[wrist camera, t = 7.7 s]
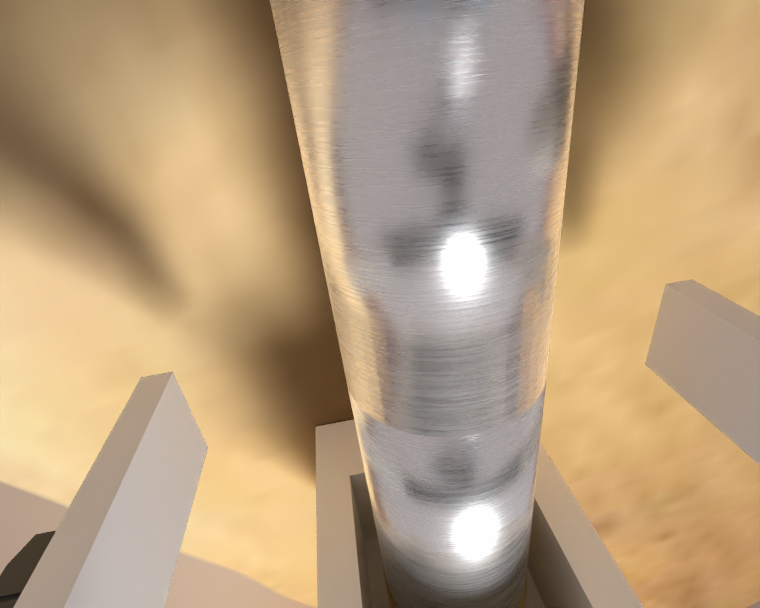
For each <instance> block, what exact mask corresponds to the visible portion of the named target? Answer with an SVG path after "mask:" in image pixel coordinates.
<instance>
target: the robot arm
mask: <svg viewBox="0 0 760 608" xmlns="http://www.w3.org/2000/svg"><path fill="white" fill-rule="evenodd" d="M645 365H646V366H648V367H649V368H650V369H651V370H652V371H653V372H654V373H656V374H657V375H658V376H659V377H660V378H661V379H662V380H663V381H665V382H666V383H667V384H668V385H669V386H670V387H671V388H673V389H674V390H675V391H676V392H677V393H678V394H679V395H681V396H682V397H683V398H684V399H685V400H686V401H687V402H688V403H690V404H691V405H692V406H693V407H694V408H695V409H696V410H698V411H699V412H700V413H701V414H702V415H703V416H704V417H706V418H707V419H708V420H709V421H710V422H711V423H712V424H713V425H715V426H716V427H717V428H718V429H719V430H720V431H721V432H723V433H724V434H725V435H726V436H727V437H728V438H729V439H731V440H732V441H733V442H734V443H735V444H736V445H737V446H738V447H740V448H741V449H742V450H743V451H744V452H745V453H746V454H748V455H749V456H750V457H751V458H752V459H753V460H754V461H756V462H757V463H758V464H759V465H760V316H758V315H756V314H754V313H752V312H751V311H749V310H747V309H745V308H743V307H742V306H740V305H738V304H736V303H734V302H732V301H731V300H729V299H727V298H725V297H723V296H721V295H720V294H718V293H716V292H714V291H712V290H710V289H709V288H707V287H705V286H703V285H701V284H700V283H698V282H696V281H694V280H686V281H681V282H675V283H670V284H666V285H665V289H664V293H663V297H662V301H661V305H660V309H659V312H658V316H657V320H656V324H655V328H654V332H653V336H652V340H651V344H650V348H649V352H648V355H647V359H646V363H645ZM207 450H208V447H207V444H206V442H205V440H204V438H203V436H202V434H201V432H200V429H199V427H198V425H197V423H196V421H195V419H194V417H193V414H192V412H191V410H190V408H189V406H188V404H187V401H186V399H185V397H184V395H183V393H182V391H181V389H180V386H179V384H178V382H177V380H176V378H175V376H174V373H173V372H168V373H163V374H157V375H151V376H146V377H141V379H140V381H139V382H138V384H137V386H136V388H135V390H134V391H133V393H132V395H131V397H130V399H129V400H128V402H127V404H126V406H125V408H124V409H123V411H122V413H121V415H120V417H119V418H118V420H117V422H116V424H115V426H114V427H113V429H112V431H111V433H110V435H109V436H108V438H107V440H106V442H105V444H104V445H103V447H102V449H101V451H100V453H99V454H98V456H97V458H96V460H95V462H94V463H93V465H92V467H91V469H90V471H89V472H88V474H87V476H86V478H85V480H84V481H83V483H82V485H81V487H80V489H79V490H78V492H77V494H76V496H75V498H74V499H73V501H72V503H71V505H70V507H69V508H68V510H67V512H66V514H65V516H64V518H63V519H62V521H61V523H60V525H59V527H58V528H57V530H56V531H52V532H46V533H42V534H36V535H35V536H34V537H33V538H32V539H31V540H30V541H29V542H28V543H27V545H26V546H25V547H24V548H23V549H22V550H21V551H20V552H19V553H18V554H17V555H16V556H15V557H14V558H13V559H12V560H11V562H10V563H9V564H8V565H7V566H6V567H5V569H4V571H3V572H2V574H1V576H0V608H164V606H165V602H166V599H167V595H168V591H169V588H170V584H171V580H172V577H173V573H174V569H175V566H176V562H177V558H178V555H179V551H180V548H181V544H182V541H183V537H184V533H185V530H186V526H187V522H188V519H189V515H190V511H191V508H192V504H193V500H194V497H195V493H196V490H197V486H198V482H199V479H200V475H201V471H202V468H203V464H204V460H205V457H206V453H207Z"/></svg>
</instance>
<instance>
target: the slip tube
mask: <svg viewBox="0 0 760 608" xmlns="http://www.w3.org/2000/svg"><path fill="white" fill-rule="evenodd" d="M584 2H585V0H270V3H271V8H272V13H273V18H274V23H275V28H276V33H277V38H278V43H279V48H280V53H281V58H282V63H283V68H284V73H285V78H286V83H287V88H288V93H289V98H290V103H291V107H292V112H293V117H294V122H295V127H296V132H297V137H298V142H299V147H300V152H301V157H302V162H303V167H304V172H305V177H306V182H307V187H308V192H309V197H310V202H311V207H312V212H313V217H314V222H315V227H316V232H317V237H318V242H319V247H320V252H321V257H322V262H323V267H324V272H325V277H326V282H327V287H328V292H329V297H330V302H331V307H332V312H333V317H334V322H335V327H336V331H337V336H338V341H339V346H340V351H341V356H342V361H343V366H344V371H345V376H346V381H347V386H348V391H349V396H350V401H351V406H352V411H353V416H354V421H355V426H356V431H357V436H358V441H359V446H360V451H361V456H362V461H363V466H364V471H365V476H366V481H367V486H368V491H369V496H370V501H371V506H372V511H373V516H374V521H375V526H376V531H377V536H378V541H379V546H380V550H381V555H382V560H383V570H384V578H385V583H386V588H387V593H388V598H389V603H390V608H525V601H526V591H527V564H528V554H529V544H530V534H531V524H532V515H533V505H534V495H535V485H536V475H537V465H538V455H539V446H540V436H541V426H542V416H543V406H544V396H545V387H546V377H547V367H548V357H549V347H550V337H551V327H552V318H553V308H554V298H555V288H556V278H557V268H558V258H559V249H560V239H561V229H562V219H563V209H564V199H565V189H566V180H567V170H568V160H569V150H570V140H571V130H572V120H573V111H574V101H575V91H576V81H577V71H578V61H579V51H580V42H581V32H582V22H583V12H584Z"/></svg>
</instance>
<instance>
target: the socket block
mask: <svg viewBox="0 0 760 608" xmlns="http://www.w3.org/2000/svg"><path fill="white" fill-rule="evenodd" d="M315 429H316V516H317V603H318V608H390V603H389V598H388V593H387V588H386V583H385V578H384V570H383V560H382V555H381V550H380V546H379V541H378V536H377V531H376V526H375V521H374V516H373V511H372V506H371V501H370V496H369V491H368V486H367V481H366V476H365V471H364V466H363V461H362V456H361V451H360V446H359V441H358V436H357V431H356V426H355V421H354V419H353V420H348V421H343V422H337V423H332V424H327V425H322V426H317V427H315ZM525 608H644V607H643V605H642V604H641V602H640V600H639V599H638V597H637V596H636V594H635V592H634V591H633V589H632V588H631V586H630V584H629V583H628V581H627V580H626V578H625V576H624V575H623V573H622V572H621V570H620V568H619V567H618V565H617V564H616V562H615V560H614V559H613V557H612V556H611V554H610V552H609V551H608V549H607V548H606V546H605V544H604V543H603V541H602V540H601V538H600V536H599V535H598V533H597V532H596V530H595V528H594V527H593V525H592V524H591V522H590V520H589V519H588V517H587V516H586V514H585V512H584V511H583V509H582V508H581V506H580V504H579V503H578V501H577V500H576V498H575V497H574V495H573V493H572V492H571V490H570V489H569V487H568V485H567V484H566V482H565V481H564V479H563V477H562V476H561V474H560V473H559V471H558V469H557V468H556V466H555V465H554V463H553V461H552V460H551V458H550V457H549V455H548V453H547V452H546V450H545V449H544V447H543V445H542V444H541V442H540V446H539V455H538V465H537V475H536V485H535V495H534V505H533V515H532V524H531V534H530V544H529V554H528V564H527V591H526V601H525Z"/></svg>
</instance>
